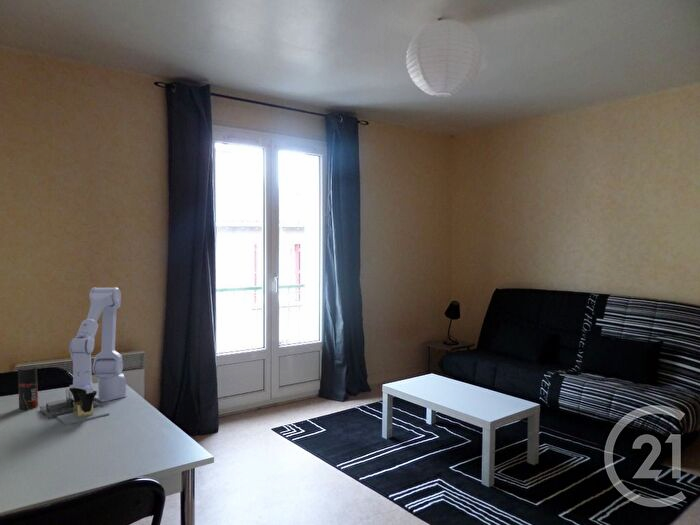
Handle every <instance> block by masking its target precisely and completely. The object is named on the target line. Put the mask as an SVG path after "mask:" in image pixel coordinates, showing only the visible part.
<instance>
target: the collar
mask: <svg viewBox="0 0 700 525" xmlns="http://www.w3.org/2000/svg"><path fill="white" fill-rule="evenodd" d="M73 415H74V416H76V417H77V418H81V417H85V416H90V415H93V403H92V408H91V411H89V412H84V411H83V408H82V402H81V401H77V402H73Z"/></svg>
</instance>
